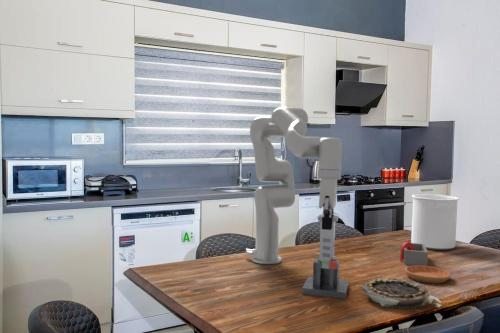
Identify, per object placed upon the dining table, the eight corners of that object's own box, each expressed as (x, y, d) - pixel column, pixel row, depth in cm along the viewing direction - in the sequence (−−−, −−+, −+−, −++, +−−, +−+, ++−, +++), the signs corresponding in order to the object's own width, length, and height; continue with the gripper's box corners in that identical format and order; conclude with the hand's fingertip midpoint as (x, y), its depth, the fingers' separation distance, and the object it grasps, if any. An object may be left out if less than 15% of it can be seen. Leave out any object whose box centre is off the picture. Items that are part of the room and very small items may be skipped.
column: (316, 267, 156) (317, 217, 155) (317, 264, 161) (319, 214, 160) (335, 269, 154) (337, 218, 153) (336, 265, 159) (338, 216, 158)
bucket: (466, 252, 216) (469, 200, 215) (419, 251, 217) (422, 199, 215) (444, 240, 242) (446, 194, 241) (402, 239, 242) (404, 193, 241)
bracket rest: (404, 264, 193) (404, 250, 193) (402, 255, 208) (402, 242, 208) (427, 266, 191) (427, 252, 190) (423, 257, 206) (424, 243, 206)
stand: (302, 293, 153) (303, 260, 153) (308, 281, 167) (309, 250, 166) (345, 298, 150) (346, 264, 149) (348, 285, 163) (349, 254, 162)
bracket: (408, 263, 195) (409, 244, 194) (399, 260, 198) (401, 242, 198) (427, 260, 201) (428, 242, 200) (418, 258, 205) (420, 240, 204)
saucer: (448, 275, 180) (449, 267, 180) (452, 287, 165) (452, 279, 164) (405, 270, 185) (405, 263, 185) (404, 282, 170) (405, 274, 170)
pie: (460, 311, 141) (460, 295, 141) (381, 321, 133) (382, 304, 133) (404, 283, 168) (404, 270, 168) (336, 290, 160) (336, 276, 160)
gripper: (321, 172, 165) (319, 222, 166) (314, 175, 148) (313, 231, 150) (342, 173, 163) (341, 224, 164) (338, 176, 146) (336, 233, 148)
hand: (327, 227), depth 157 cm, fingers open, 6 cm apart
